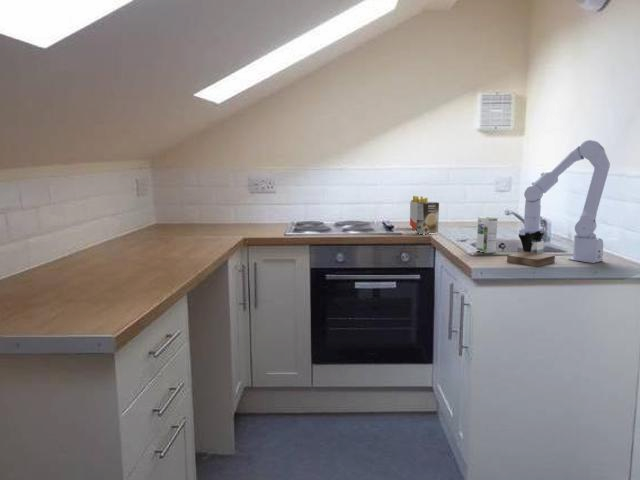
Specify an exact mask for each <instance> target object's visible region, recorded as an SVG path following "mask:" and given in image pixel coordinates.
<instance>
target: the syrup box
mask: <svg viewBox="0 0 640 480" xmlns="http://www.w3.org/2000/svg"><path fill="white" fill-rule="evenodd" d="M497 232H498V217H496V216H494V217H493V216H489V215H481V216H478V217H477V233H476V250H478V251H480V252H479V253H482V252H484V253H483V254H492V253H493V254H494V253H496V252H497V234H498V233H497Z"/></svg>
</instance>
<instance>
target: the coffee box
mask: <svg viewBox="0 0 640 480" xmlns="http://www.w3.org/2000/svg"><path fill="white" fill-rule="evenodd" d="M439 213H440V202H435V201H428V202H419V203H417V230H415V231H416V232H415V233H420V234H429V233H436V232H438V233H439V215H440V214H439ZM420 234H419V235H420Z"/></svg>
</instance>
